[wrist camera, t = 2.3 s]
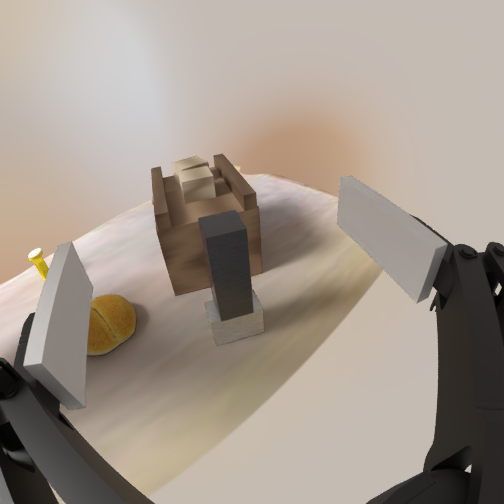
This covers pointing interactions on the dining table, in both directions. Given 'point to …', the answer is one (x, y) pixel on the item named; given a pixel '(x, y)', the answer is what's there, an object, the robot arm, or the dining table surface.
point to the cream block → (188, 165)
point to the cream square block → (197, 184)
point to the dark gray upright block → (229, 278)
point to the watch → (39, 262)
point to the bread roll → (109, 323)
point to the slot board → (187, 226)
